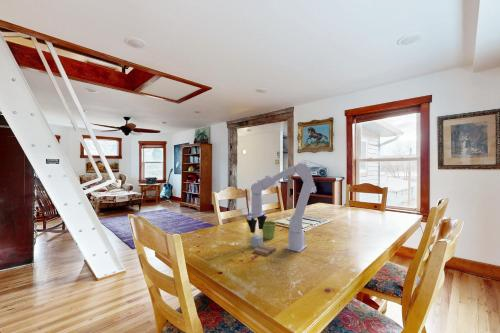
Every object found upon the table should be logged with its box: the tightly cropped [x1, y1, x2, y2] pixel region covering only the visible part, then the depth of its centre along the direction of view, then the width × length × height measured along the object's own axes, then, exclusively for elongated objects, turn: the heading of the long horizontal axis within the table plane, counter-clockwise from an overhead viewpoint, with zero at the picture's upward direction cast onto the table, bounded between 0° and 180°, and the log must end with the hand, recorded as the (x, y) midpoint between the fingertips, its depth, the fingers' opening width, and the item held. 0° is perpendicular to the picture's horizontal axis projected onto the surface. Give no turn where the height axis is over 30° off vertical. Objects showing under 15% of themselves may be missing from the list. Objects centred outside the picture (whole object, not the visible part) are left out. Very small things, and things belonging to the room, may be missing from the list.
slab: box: [253, 244, 277, 257], centre depth 114 cm, size 8×8×2 cm
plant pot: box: [261, 220, 277, 240], centre depth 135 cm, size 9×9×9 cm
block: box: [250, 234, 264, 249], centre depth 122 cm, size 5×5×5 cm
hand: (256, 230), depth 121 cm, fingers open, 7 cm apart
